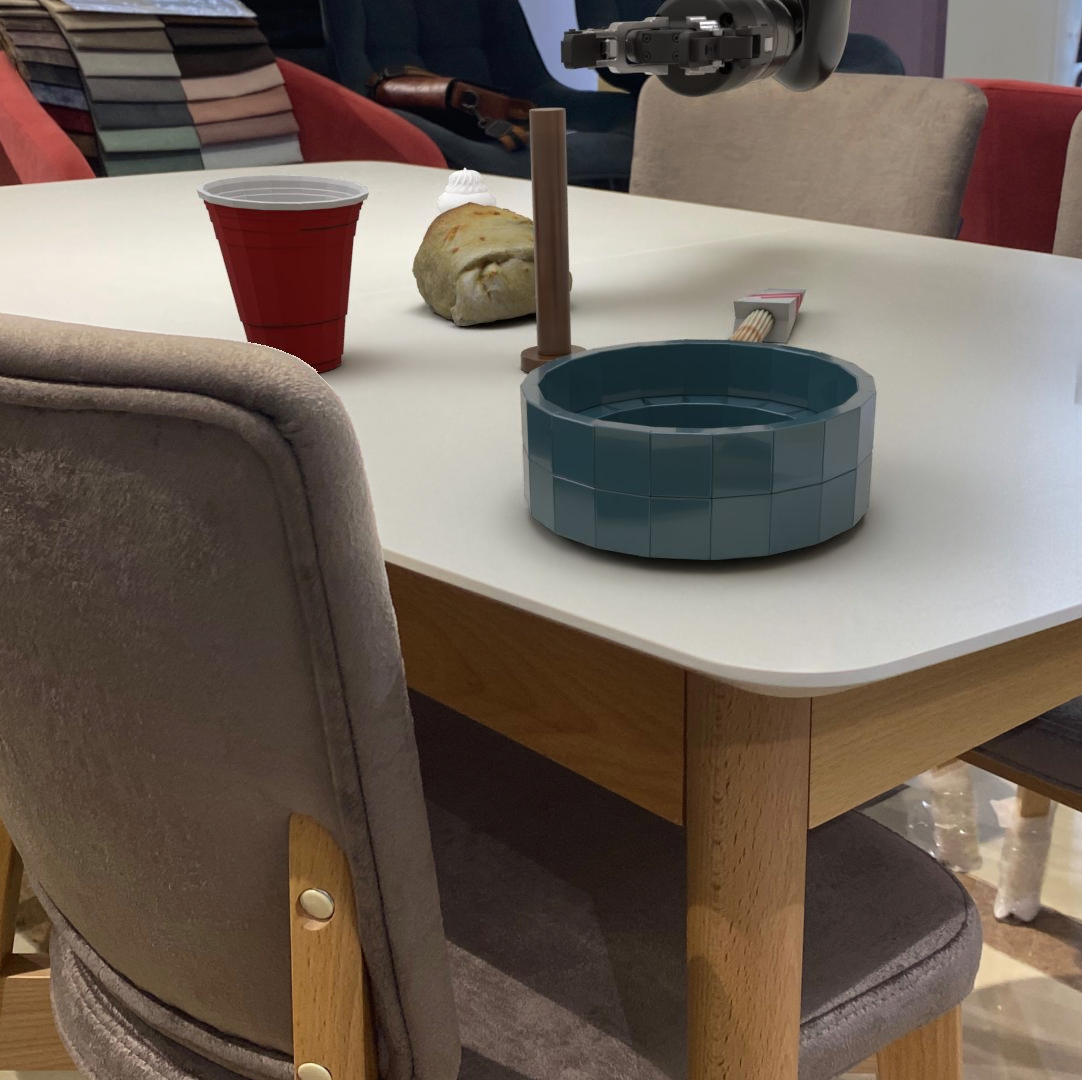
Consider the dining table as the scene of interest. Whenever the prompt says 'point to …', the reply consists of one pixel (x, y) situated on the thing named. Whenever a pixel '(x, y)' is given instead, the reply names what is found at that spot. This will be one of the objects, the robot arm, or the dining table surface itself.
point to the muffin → (465, 191)
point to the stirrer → (550, 238)
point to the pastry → (478, 265)
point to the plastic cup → (288, 258)
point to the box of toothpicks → (767, 315)
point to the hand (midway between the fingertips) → (624, 51)
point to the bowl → (698, 447)
